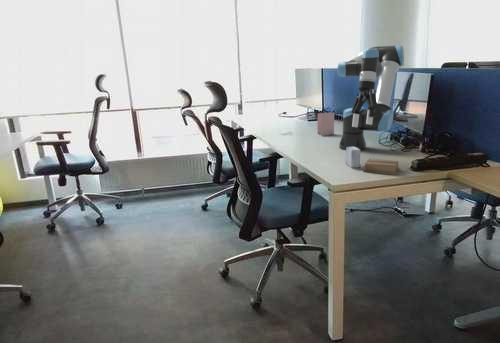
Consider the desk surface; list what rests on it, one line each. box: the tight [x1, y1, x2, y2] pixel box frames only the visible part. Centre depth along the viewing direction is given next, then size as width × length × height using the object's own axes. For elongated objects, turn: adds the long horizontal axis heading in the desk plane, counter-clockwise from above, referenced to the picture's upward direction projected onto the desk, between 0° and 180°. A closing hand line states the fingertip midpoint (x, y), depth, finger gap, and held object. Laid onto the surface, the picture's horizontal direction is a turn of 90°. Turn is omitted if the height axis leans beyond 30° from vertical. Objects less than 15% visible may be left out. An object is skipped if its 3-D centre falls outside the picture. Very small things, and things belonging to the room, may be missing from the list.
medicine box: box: [345, 147, 361, 169], centre depth 179 cm, size 8×4×9 cm, turn 5°
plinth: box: [362, 158, 400, 176], centre depth 170 cm, size 10×14×4 cm
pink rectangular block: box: [316, 112, 335, 137], centre depth 259 cm, size 11×7×15 cm, turn 84°
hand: (361, 125), depth 180 cm, fingers open, 13 cm apart
